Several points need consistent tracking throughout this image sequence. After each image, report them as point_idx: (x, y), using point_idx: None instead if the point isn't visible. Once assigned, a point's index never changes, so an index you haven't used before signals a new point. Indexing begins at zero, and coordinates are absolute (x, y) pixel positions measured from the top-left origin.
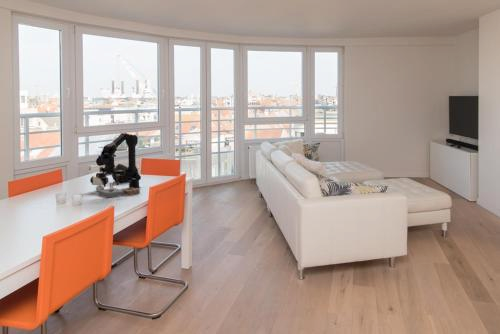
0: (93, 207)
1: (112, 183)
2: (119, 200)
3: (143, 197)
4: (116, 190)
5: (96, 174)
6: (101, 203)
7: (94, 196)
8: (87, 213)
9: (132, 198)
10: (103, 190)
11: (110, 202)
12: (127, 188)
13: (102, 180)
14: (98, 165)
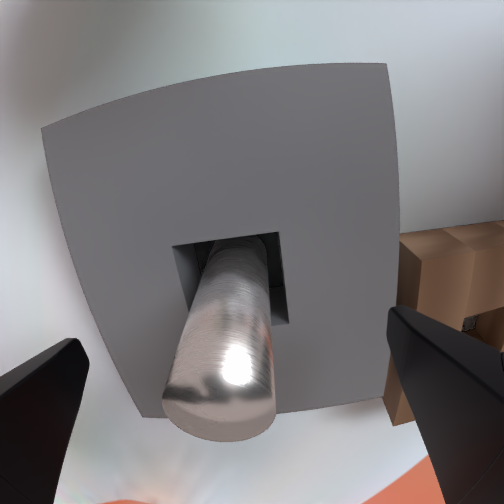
0: (65, 475)
1: (248, 427)
2: (227, 474)
3: (409, 463)
4: (315, 324)
5: None
6: (96, 459)
7: (25, 214)
8: (60, 499)
9: (339, 467)
10: (105, 189)
11: (154, 475)
12: (499, 276)
13: None
14: None
